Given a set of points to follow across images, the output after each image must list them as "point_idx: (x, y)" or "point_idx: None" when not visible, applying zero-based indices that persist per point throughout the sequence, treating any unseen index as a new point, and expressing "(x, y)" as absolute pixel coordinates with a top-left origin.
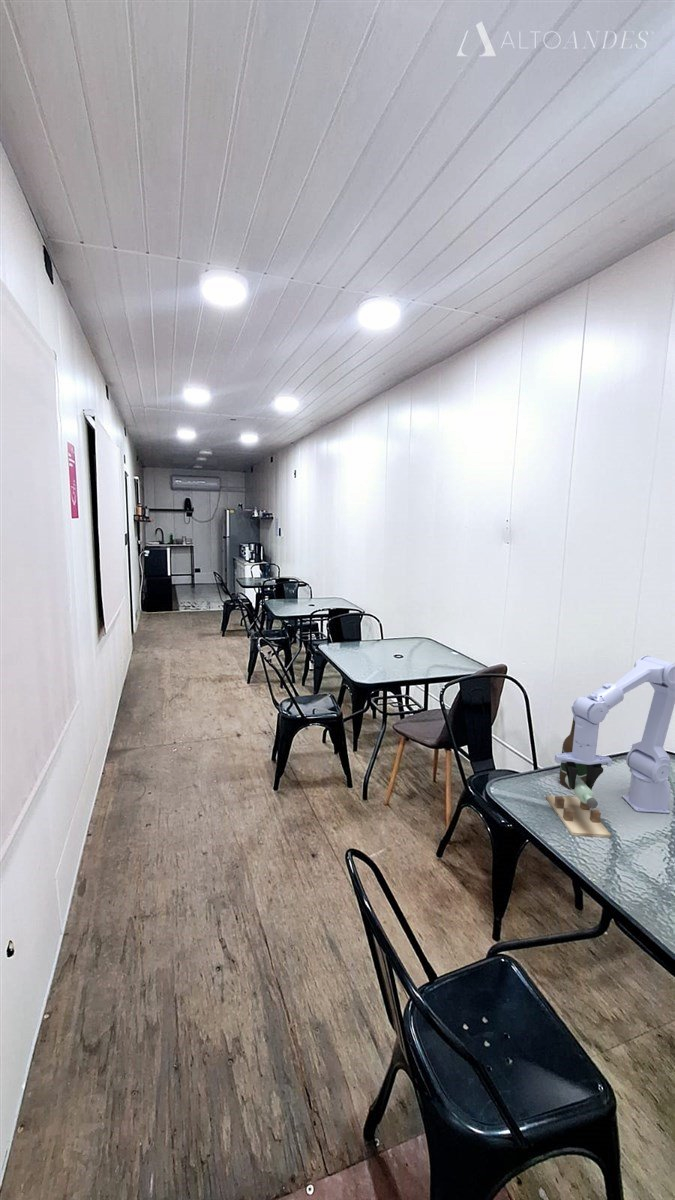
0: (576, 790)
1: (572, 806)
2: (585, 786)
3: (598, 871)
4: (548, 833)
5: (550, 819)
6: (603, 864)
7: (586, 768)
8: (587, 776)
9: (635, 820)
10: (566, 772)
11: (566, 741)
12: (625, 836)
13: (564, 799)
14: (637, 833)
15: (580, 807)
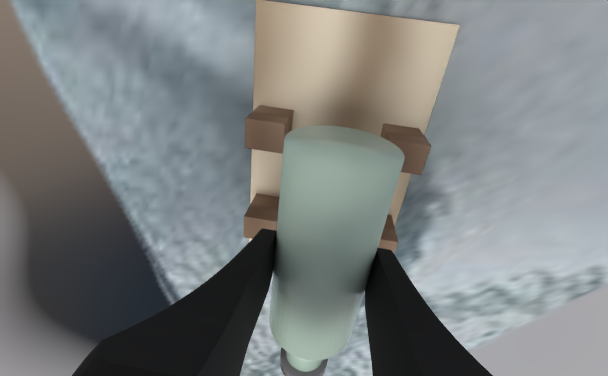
0: (272, 293)
1: (345, 121)
2: (316, 336)
3: (252, 355)
4: (182, 243)
5: (214, 180)
6: (277, 344)
7: (413, 351)
8: (391, 314)
9: (577, 212)
10: (206, 281)
11: None
12: (430, 280)
13: (281, 153)
14: (492, 273)
15: (380, 131)
